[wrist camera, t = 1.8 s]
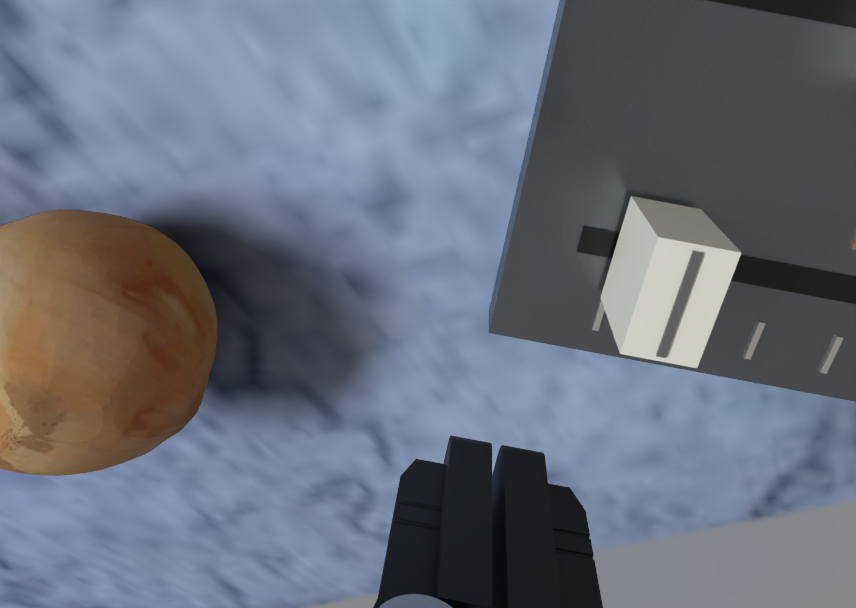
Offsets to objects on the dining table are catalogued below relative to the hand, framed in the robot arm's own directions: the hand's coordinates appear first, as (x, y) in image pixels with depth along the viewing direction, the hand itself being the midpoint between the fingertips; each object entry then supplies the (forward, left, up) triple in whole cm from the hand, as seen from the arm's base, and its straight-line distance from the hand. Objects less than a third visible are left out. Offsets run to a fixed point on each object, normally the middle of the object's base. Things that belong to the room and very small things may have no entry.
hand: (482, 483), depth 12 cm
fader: (0, +6, -15) cm, 16 cm away
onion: (+6, -14, -17) cm, 23 cm away
